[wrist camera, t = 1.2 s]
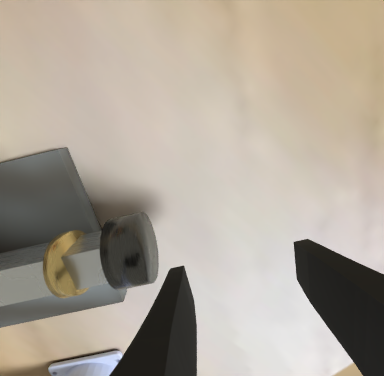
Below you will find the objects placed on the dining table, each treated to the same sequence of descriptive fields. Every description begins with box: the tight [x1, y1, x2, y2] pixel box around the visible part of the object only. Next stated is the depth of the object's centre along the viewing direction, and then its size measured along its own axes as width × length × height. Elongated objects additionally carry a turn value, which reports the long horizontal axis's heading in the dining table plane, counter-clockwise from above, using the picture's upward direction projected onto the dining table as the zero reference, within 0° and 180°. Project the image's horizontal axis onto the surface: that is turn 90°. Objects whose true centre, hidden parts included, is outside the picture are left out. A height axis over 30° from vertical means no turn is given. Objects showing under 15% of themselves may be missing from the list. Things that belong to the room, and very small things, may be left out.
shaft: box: [0, 212, 158, 306], centre depth 13 cm, size 4×18×4 cm, turn 103°
